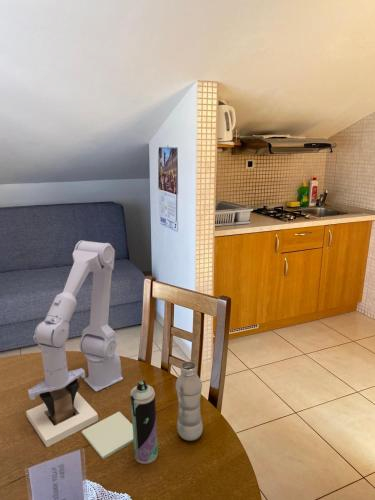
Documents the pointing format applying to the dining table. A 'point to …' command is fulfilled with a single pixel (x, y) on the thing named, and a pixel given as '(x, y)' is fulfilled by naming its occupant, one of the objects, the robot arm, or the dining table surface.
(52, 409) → the robot arm
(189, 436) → the plastic bottle
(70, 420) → the socket board
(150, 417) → the spray can
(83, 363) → the dining table surface
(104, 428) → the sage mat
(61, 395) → the walnut block
